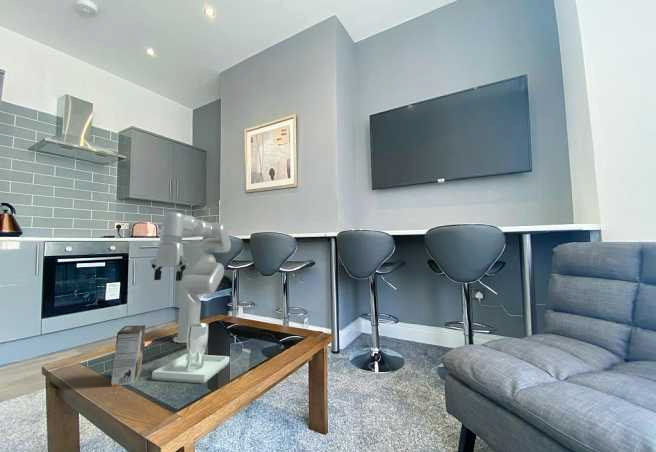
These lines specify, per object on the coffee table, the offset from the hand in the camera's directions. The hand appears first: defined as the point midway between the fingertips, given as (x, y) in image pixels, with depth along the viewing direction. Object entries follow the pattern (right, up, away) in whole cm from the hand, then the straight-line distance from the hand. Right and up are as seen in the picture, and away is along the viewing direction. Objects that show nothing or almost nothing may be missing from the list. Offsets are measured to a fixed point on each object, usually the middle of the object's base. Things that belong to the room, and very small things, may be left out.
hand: (168, 280), depth 117 cm
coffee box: (+3, -27, -28) cm, 39 cm away
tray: (+21, -28, -20) cm, 40 cm away
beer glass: (+21, -28, -20) cm, 40 cm away
